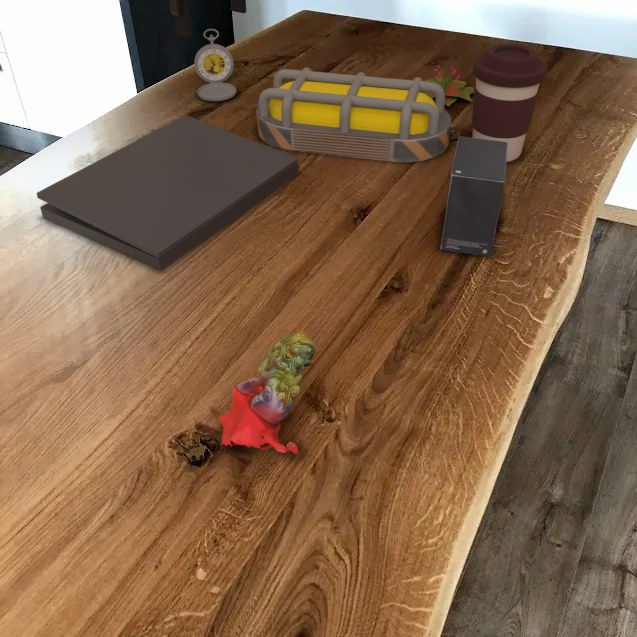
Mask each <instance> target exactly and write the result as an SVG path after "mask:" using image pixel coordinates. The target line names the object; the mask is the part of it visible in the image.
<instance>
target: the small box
mask: <svg viewBox="0 0 637 637" xmlns="http://www.w3.org/2000/svg"><path fill="white" fill-rule="evenodd" d="M507 147H508V143H507V142H502V141H493V140H485V139H478V138H472V137H470V136H462V135H459V136H458V138H457V142H456V147H455V152H454V156H453V161H452V167H451V172H450V177H449V183H448V191H447V199H446V205H445V214H444V221H443V227H442V232H441V238H440V245H439V250H440V251H444V252H451V253H452V252H454V253H460V254H467V255H474V256H480V257H481V256H482V257H491V253H492V249H493V244H494V241H495V238H496V237H495V236H496V232H497V227H498V221H499V218H500V212H501V208H502V207H501V206H502V202H503V196H504V189H505V183H506V171H507V162H506V161H507Z"/></svg>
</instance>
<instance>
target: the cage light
mask: <svg viewBox="0 0 637 637" xmlns="http://www.w3.org/2000/svg"><path fill="white" fill-rule="evenodd" d="M284 80H291V81H289V82H286V83H284V84H283V82H284ZM272 86H273V87H268V88H265V89H264V90H263V91H262V92H261V93H260V94H259V97H258V103H257V105H256V108H255V109H256V110H255V113H256V127H257V134H258V136H259V138H260V139H261V140H262V141H263V142H264V143H265V144H267V145H269V146H272V147H274V148H277V149H281V150H287V151H292V152H301V153H309V154H310V153H311V154H319V155H320V154H321V155H329V156H337V157H346V158H354V159H355V158H356V159H366V160H375V161H381V162H382V161H383V162H392V163H414V162H423V161H427V160H430V159H433V158H436V157H438V156H440V155H441V154H442V153H444V152H445V151H446V150H447V148H448V146H449V145H450V136H451V128H452V119H451V118H452V117H451V115H450V114H449V113H448V111H447V110H446V109H445V106H446V104H445V92H444V89H443V88H442V87H441V86H440V85H439V84H437V83H434V82H425V80H423V79H422V78H421V77H419V76H415V77H414V78H413V79H404V78H403V79H401V78H390V77H381V76H380V77H379V76H368V75H367V74H366V73H365V72H362V71H359V72H358V73H357V74H346V73H345V74H344V73H335V72H325V71H324V72H322V71H313V70H312V69H311V68H310V67H307V66H306V67H304V68H302V69H291V68H290V69H289V68H283V69H280V70H278V71H277V72H276V73H275V74H274V76H273V79H272ZM408 90H409V91H408ZM422 92H432V93H434V94H435V96H436V97H434V98H435V100H434V98H430V97H429V96H427V95H426V94H424V93H422Z"/></svg>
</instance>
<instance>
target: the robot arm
mask: <svg viewBox="0 0 637 637" xmlns="http://www.w3.org/2000/svg"><path fill="white" fill-rule="evenodd" d="M168 1H169V7H170V13H171V15H172V16H173V20H174V27H175V35H177V36H181V37H186V38H191V37H193V29H192V22H191V14H190V5H189V0H168ZM230 11H231V12H234V13H239V14H246V13H247V0H230Z"/></svg>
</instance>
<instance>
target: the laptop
mask: <svg viewBox="0 0 637 637" xmlns="http://www.w3.org/2000/svg"><path fill="white" fill-rule="evenodd" d="M297 176H299V163H297V164H296V165H295V166H293V167H292V168H290V169H289V170H287V171H286V172H284V173H283V174H281V175H280V176H278V177H277V178H276V179H274V180H273V181H271V182H270V183H268V184H267V185H265V186H264V187H262V188H261V189H259V190H258V191H257V192H255V193H254V194H252V195H251V196H249V197H248V198H246V199H245V200H243V201H242V202H240V203H239V204H238V205H236V206H235V207H233V208H232V209H230V210H229V211H227V212H226V213H224V214H223V215H221V216H220V217H219V218H217V219H216V220H214V221H213V222H211V223H210V224H208V225H207V226H205V227H204V228H202V229H201V230H200V231H198V232H197V233H195V234H194V235H192V236H191V237H189V238H188V239H186V240H185V241H183V242H182V243H181V244H179V245H178V246H176V247H175V248H173V249H172V250H170V251H169V252H167V253H166V254H164V255H163V256H162V257H160V258H157V257H155V256H153V255H151V254H149V253H147V252H145V251H143V250H141V249H139V248H137V247H135V246H133V245H131V244H129V243H127V242H125V241H123V240H121V239H119V238H117V237H115V236H113V235H111V234H109V233H107V232H105V231H103V230H101V229H99V228H97V227H95V226H93V225H91V224H89V223H87V222H85V221H83V220H81V219H79V218H77V217H75V216H73V215H71V214H69V213H67V212H65V211H63V210H61V209H59V208H57V207H55V206H53V205H51V204H49V203H47V202H46V203H45V204H44V205H41V206H40V207H39V209H40V212H41V216H42V219H43V220H46V221H48V222H50V223H52V224H54V225H57V226H59V227H61V228H64V229H65V230H68V231H70V232H72V233H75V234H76V235H79V236H82V237H83V238H85V239H88V240H90V241H93V242H95V243H97V244H99V245H102V246H103V247H106V248H108V249H110V250H113V251H115V252H116V253H119V254H121V255H123V256H125V257H127V258H131V259H133V260H135V261H137V262H139V263H142V264H143V265H146V266H148V267H151V268H153V269H155V270H157V271H159V272H162V271H163V270H165V269H166V268H168V267H169V266H171V265H172V264H174V263H175V262H176V261H178V260H179V259H181V258H182V257H183V256H186V254H188V253H189V252H191V251H192V250H193V249H195V248H196V247H198V246H199V245H200V244H202V243H204V242H205V241H207V240H208V239H209V238H210V237H212V236H213V235H215V234H216V233H218V232H219V231H220V230H222V229H223V228H224V227H226V226H228V225H229V224H230V223H232V222H234V221H235V220H236V219H238V218H239V217H241V216H242V215H243V214H245V213H246V212H248V211H249V210H250V209H252V208H254V207H255V206H256V205H257V204H259V203H261V202H263V200H265V199H266V198H268V197H269V196H271V195H272V194H273V193H275V192H276V191H277V190H279V189H280V188H282V187H283V186H284V185H287V183H289V182H290V181H292V180H293V179H295V178H296V177H297Z"/></svg>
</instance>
